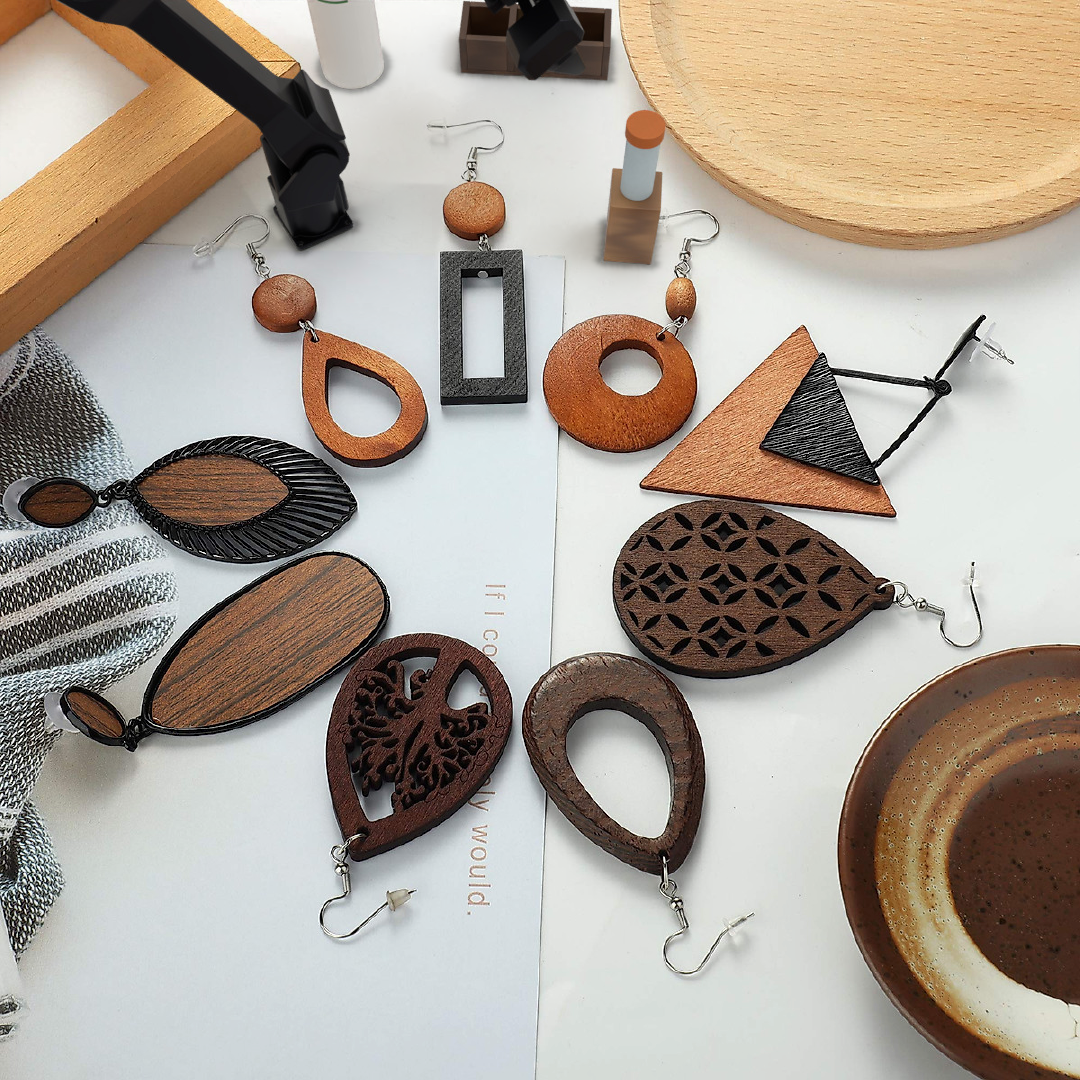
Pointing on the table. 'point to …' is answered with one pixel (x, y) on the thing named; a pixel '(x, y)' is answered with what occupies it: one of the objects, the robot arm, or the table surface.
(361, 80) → the cylindrical container
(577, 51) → the robot arm
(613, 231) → the tube stand
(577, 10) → the box
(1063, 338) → the table surface
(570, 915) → the table surface
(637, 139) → the test tube
